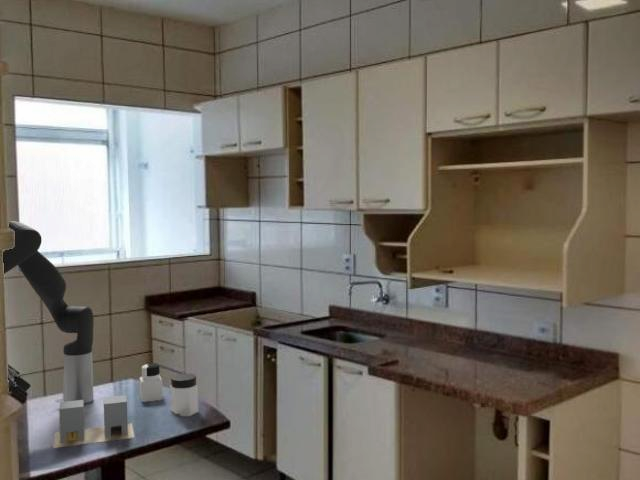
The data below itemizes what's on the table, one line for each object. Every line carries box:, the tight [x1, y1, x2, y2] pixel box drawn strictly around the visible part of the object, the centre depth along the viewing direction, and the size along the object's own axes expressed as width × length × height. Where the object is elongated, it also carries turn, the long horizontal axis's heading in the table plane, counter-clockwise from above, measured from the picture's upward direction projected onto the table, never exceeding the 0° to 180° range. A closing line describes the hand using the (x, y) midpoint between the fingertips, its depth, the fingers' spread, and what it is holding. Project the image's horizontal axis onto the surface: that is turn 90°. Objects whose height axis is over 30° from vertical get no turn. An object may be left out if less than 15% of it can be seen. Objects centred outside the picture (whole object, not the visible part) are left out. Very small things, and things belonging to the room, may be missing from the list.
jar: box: [169, 373, 199, 418], centre depth 208 cm, size 9×8×12 cm
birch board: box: [52, 423, 136, 449], centre depth 187 cm, size 22×12×1 cm, turn 110°
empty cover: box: [103, 394, 129, 438], centre depth 189 cm, size 6×6×10 cm
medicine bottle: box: [139, 363, 164, 403], centre depth 223 cm, size 7×7×12 cm
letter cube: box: [67, 431, 78, 441], centre depth 185 cm, size 4×4×4 cm
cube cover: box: [58, 400, 85, 443], centre depth 184 cm, size 6×6×10 cm
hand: (27, 392), depth 180 cm, fingers open, 8 cm apart
